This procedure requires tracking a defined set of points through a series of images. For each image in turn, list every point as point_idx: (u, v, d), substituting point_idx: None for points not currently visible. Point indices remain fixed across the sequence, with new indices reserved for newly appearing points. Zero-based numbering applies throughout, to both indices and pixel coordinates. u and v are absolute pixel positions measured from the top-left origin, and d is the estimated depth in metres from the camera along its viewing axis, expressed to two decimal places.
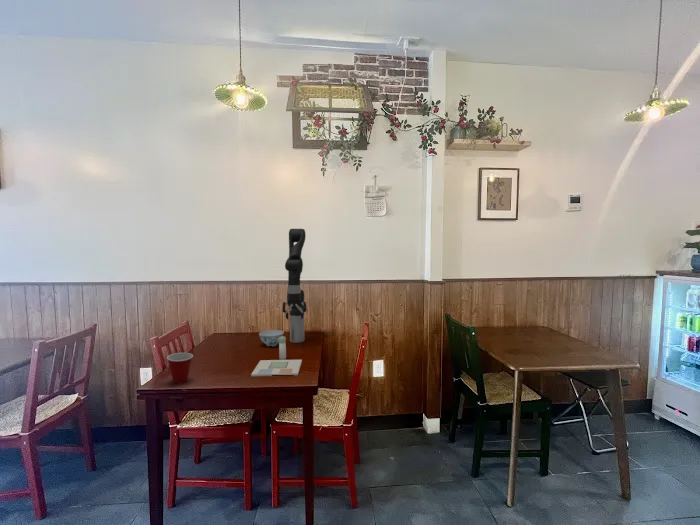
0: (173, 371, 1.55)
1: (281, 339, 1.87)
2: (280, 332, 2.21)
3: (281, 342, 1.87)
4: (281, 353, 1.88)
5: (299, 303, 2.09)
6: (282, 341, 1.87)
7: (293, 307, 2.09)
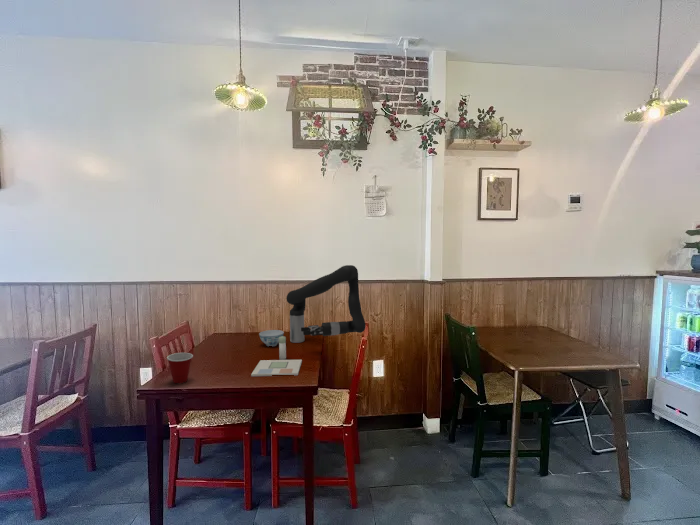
0: (173, 371, 1.55)
1: (281, 339, 1.87)
2: (280, 332, 2.21)
3: (281, 342, 1.87)
4: (281, 353, 1.88)
5: None
6: (282, 341, 1.87)
7: None
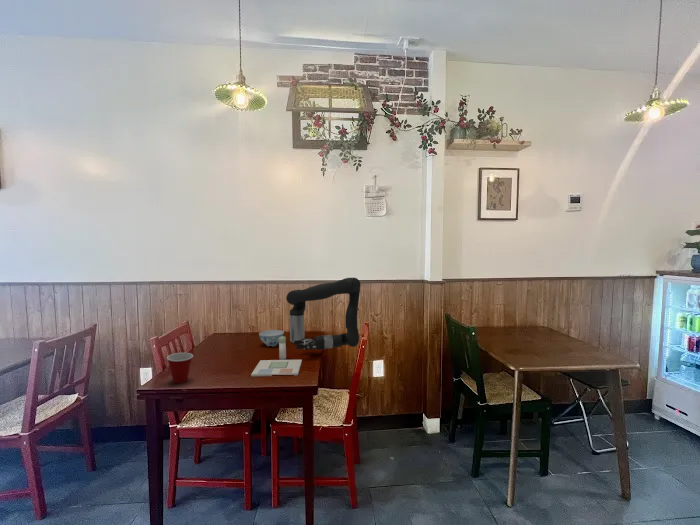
0: (173, 371, 1.55)
1: (281, 339, 1.87)
2: (280, 332, 2.21)
3: (281, 342, 1.87)
4: (281, 353, 1.88)
5: None
6: (282, 341, 1.87)
7: None
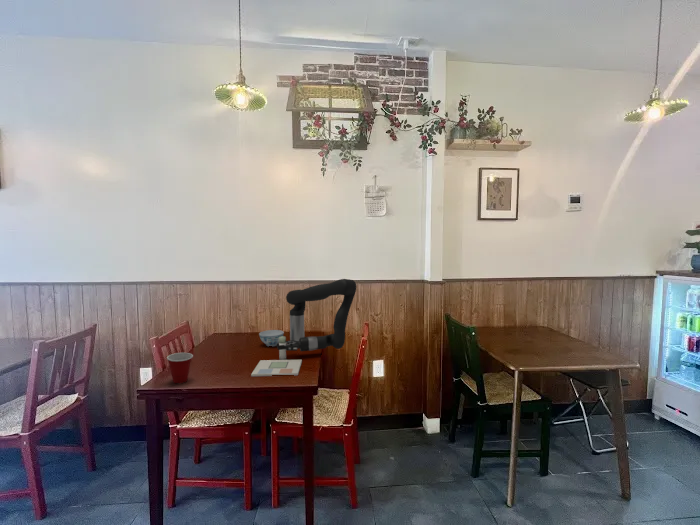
0: (173, 371, 1.55)
1: (281, 339, 1.87)
2: (280, 332, 2.21)
3: (281, 342, 1.87)
4: (281, 353, 1.88)
5: None
6: (282, 341, 1.87)
7: None
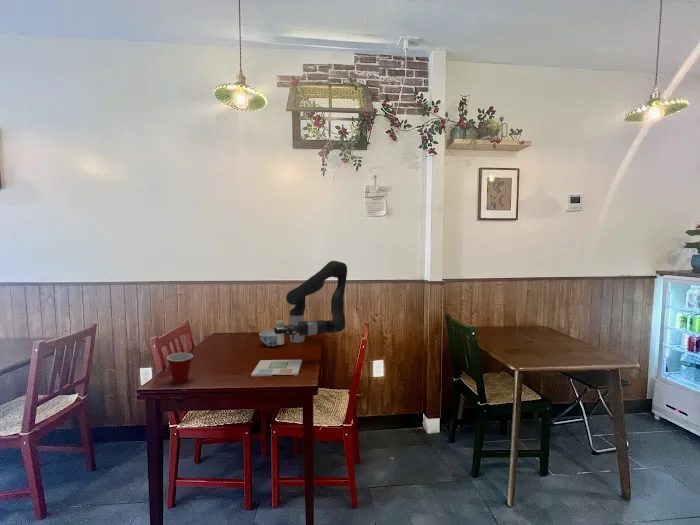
0: (173, 371, 1.55)
1: (279, 323, 1.77)
2: None
3: (279, 326, 1.77)
4: (279, 338, 1.78)
5: None
6: (280, 324, 1.77)
7: None
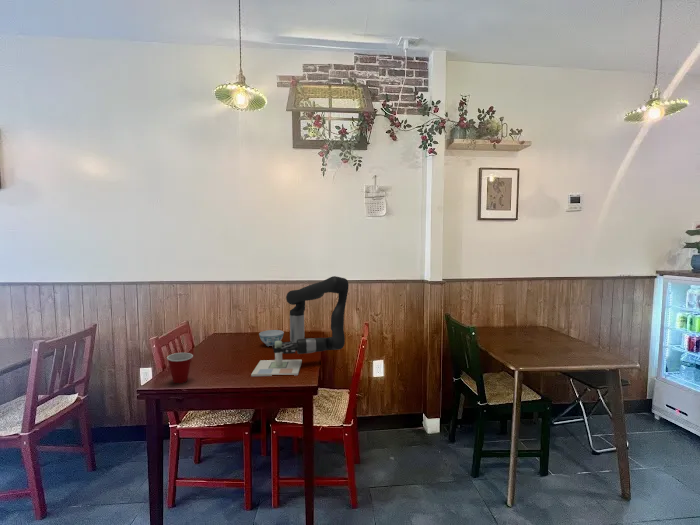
0: (173, 371, 1.55)
1: (277, 344, 1.74)
2: (280, 332, 2.21)
3: (277, 347, 1.74)
4: (277, 359, 1.75)
5: None
6: (278, 345, 1.74)
7: None
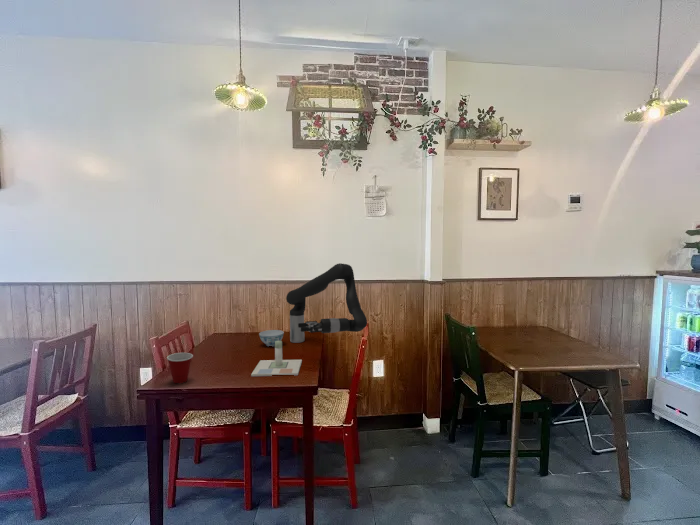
0: (173, 371, 1.55)
1: (277, 344, 1.74)
2: (280, 332, 2.21)
3: (277, 347, 1.74)
4: (277, 359, 1.75)
5: None
6: (279, 345, 1.74)
7: None
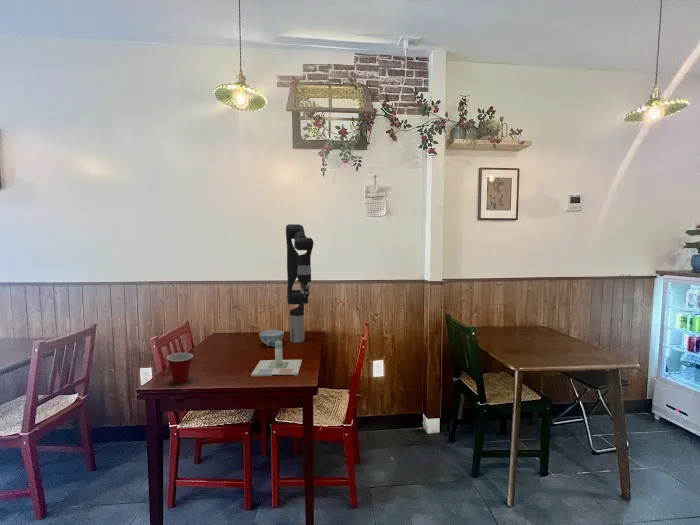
0: (173, 371, 1.55)
1: (277, 344, 1.74)
2: (280, 332, 2.21)
3: (277, 347, 1.74)
4: (277, 359, 1.75)
5: None
6: (279, 345, 1.74)
7: None
